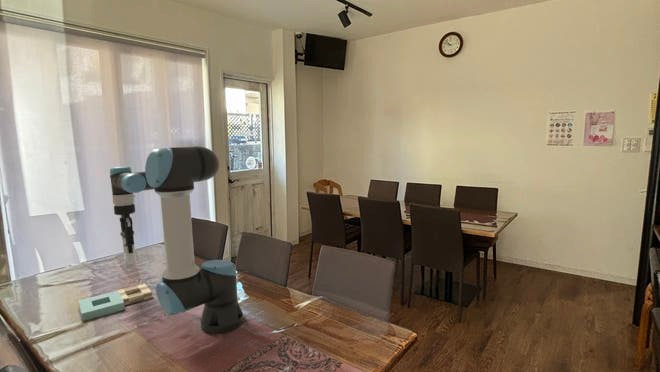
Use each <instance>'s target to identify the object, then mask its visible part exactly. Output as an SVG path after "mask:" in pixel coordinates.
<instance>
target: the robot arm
mask: <svg viewBox="0 0 660 372" xmlns="http://www.w3.org/2000/svg"><path fill="white" fill-rule="evenodd" d="M144 169H145V170H144V171H137V172H136V171H135V172H132V168H131V167H130V166H114V167H110V169H109V178H110V184H111V192H112V193H111V194H112V195H111V197H112V204H113V205H114V206H113V212H114V215H116V216H120V217H119V223H120V230H121V231H120V232H125V239H126V245H124V246H126V254H127V261H131V260H135V258H136V255H135V256H134V249H135V240H134V239H135V238H134V235H133V231H134V229H133V224H134V223H133V218H132V217H131V216H130V215H133V214H134V213H136V206H135V203H134V202H135V198H136V195H135V194H139V193H141V192H142V191H144V192H145V191H152V190H154V192H155V193H156V194H157V195H158V196H159V197H160V206H161V208H160V209H161V218H162V231H163V243H164V253H165V264H166V265H165V266H166V268H165V270H164V271H163V272H162V273H161V278H162V279H161V280H162V281H161V280H160V281H158V282H157V283H156V286H155V293H156V297H157V300H158V302H159V305H160V306H161V308H162V309H163V311H164V312H165V313H166V314H167V315H169V316H176V315H180V314H182V313H183V314H184V313H186V312H187V311H190V310H193V309H195V308H197V307H200V306H202V305H203V310H202V313H201V317H200V329H201V330H202V331H203V332H205V333H208V334H224V333H228V332H230V331H231V332H232V331H234V330H236V329H237V328H238V327H240V326H241V325H242V324H243V323H244V311H243V310H242V307H241V305H240V302H239V300H238V287H237V285H238V284H237V275H238V274H237V268H236V265H235V264H234V263H233V262H232V261H230V260H226V259H211V260H206V261H204V262H202V263H201V266H200V267H199V266H198V265H197V264H196V263H195V252H194V241H193V240H194V237H193V223H192V210H191V209H192V207H191V196H190V195H191V193H192V192H193V191H194V190H195V183H199V182H204V181H207V180H211V179H213V178H214V177H215V176H216V175H217V173H218V172H219V171H220V160H219V158H218V156H217V155H216V153H215V152H214V151H213V150H212V149H210V148H207V147H205V146H181V147H179V146H178V147H177V146H176V147H173V146H172V147H160V148H155V149H152V150H151V151H150V153H149V154H148V156H147V158H146V161H145V168H144ZM133 244H134V246H133ZM200 268H201V269H200Z"/></svg>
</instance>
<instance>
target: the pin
mask: <svg viewBox="0 0 660 372" xmlns="http://www.w3.org/2000/svg"><path fill="white" fill-rule="evenodd" d="M119 235H120V237H121V240H122V248H123V256H124V257H123V258H124V266H125V268H124V269H134V268H136V267H137V259H136V250H135V248H134V256H135V260H131V261H127V254H126V246H124V245H126V239H125V232H122V231H120V233H119ZM134 235H135V231H134V230H133V236H134ZM133 246H134V247H135V243H134V244H133Z"/></svg>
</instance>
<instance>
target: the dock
mask: <svg viewBox="0 0 660 372" xmlns="http://www.w3.org/2000/svg"><path fill="white" fill-rule="evenodd" d="M125 306H126V305H124V301H123V299H122V297H121V295H120V293H119V292H118V291H117V290H114V291H111V292H108V293H104V294H99V295H96V296H92V297H91V296H90V297H87V298H83V299H79V300H78V307H79V312H80V317H81V320H82V322H85V321H88V320H92V319H96V318H100V317H103V316H106V315H110V314H113V313H118V312H120V311H124V310H125Z"/></svg>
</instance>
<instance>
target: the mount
mask: <svg viewBox="0 0 660 372" xmlns="http://www.w3.org/2000/svg"><path fill="white" fill-rule="evenodd" d="M116 291H118V292H119V293H120V295H121V297H122V299H123V301H124V306H127V305H131V304H134V303H138V302H141V301H145V300H149V299H152V298H153V292H152V291H151V289H150V288H149V286H148V285H147V283H141V284H137V285H133V286H129V287H125V288H120V289H117V290H116Z"/></svg>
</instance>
